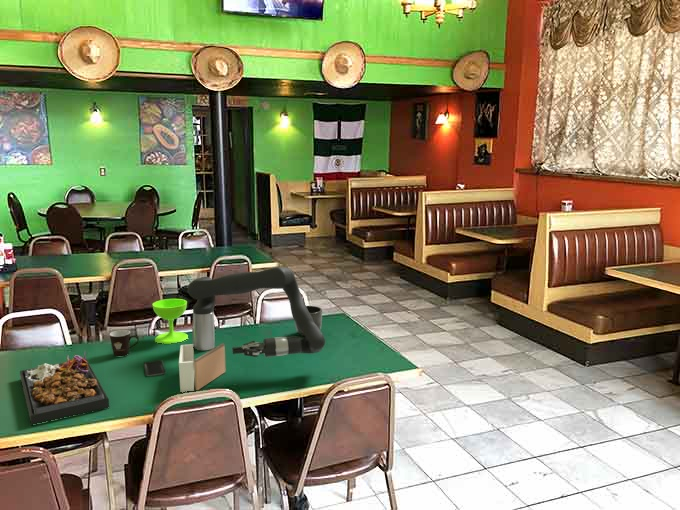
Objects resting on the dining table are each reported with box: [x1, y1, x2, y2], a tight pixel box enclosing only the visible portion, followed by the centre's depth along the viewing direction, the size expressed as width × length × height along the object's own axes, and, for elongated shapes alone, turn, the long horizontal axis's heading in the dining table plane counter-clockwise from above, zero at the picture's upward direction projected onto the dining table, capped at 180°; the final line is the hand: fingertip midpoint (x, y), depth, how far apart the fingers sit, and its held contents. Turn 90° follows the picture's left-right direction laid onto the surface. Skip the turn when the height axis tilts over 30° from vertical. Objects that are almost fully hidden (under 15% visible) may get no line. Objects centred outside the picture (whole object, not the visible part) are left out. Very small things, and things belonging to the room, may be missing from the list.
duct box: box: [178, 343, 195, 394], centre depth 221 cm, size 5×20×12 cm, turn 14°
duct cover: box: [194, 342, 226, 391], centre depth 222 cm, size 1×19×12 cm, turn 159°
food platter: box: [19, 350, 110, 426], centre depth 211 cm, size 45×25×10 cm, turn 33°
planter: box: [294, 305, 323, 338], centre depth 278 cm, size 14×14×13 cm
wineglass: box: [151, 298, 189, 345], centre depth 270 cm, size 16×16×18 cm
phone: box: [143, 359, 166, 377], centre depth 235 cm, size 8×1×15 cm
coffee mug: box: [109, 329, 140, 357], centre depth 250 cm, size 12×9×10 cm
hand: (232, 350), depth 222 cm, fingers closed
